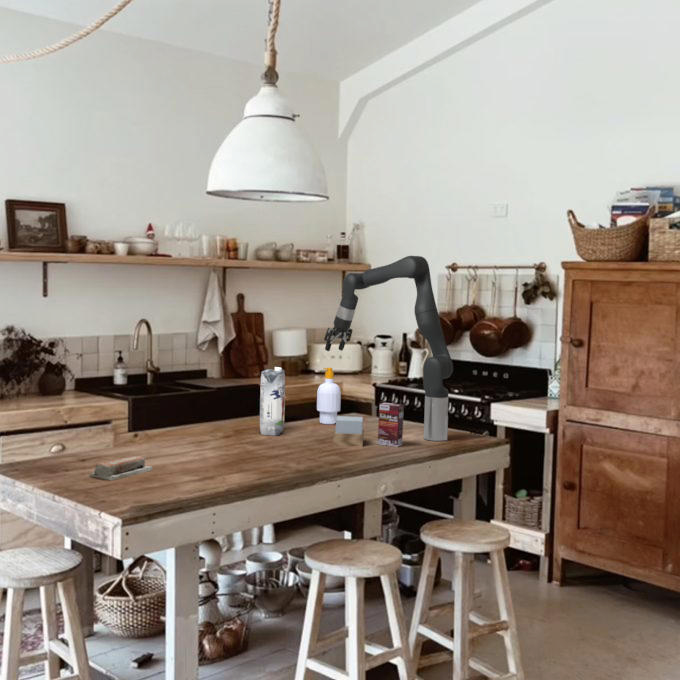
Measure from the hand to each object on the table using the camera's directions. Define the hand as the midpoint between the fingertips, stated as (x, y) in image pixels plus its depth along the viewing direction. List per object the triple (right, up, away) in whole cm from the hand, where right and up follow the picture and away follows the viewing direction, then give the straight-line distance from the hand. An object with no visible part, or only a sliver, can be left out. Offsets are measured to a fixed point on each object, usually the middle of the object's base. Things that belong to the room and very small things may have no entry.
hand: (333, 350), depth 387 cm
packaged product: (-67, -38, -108) cm, 132 cm away
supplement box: (+22, -36, -50) cm, 65 cm away
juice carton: (-25, -33, -33) cm, 53 cm away
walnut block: (+6, -36, -49) cm, 61 cm away
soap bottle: (-2, -32, -4) cm, 32 cm away
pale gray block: (+6, -31, -49) cm, 58 cm away
